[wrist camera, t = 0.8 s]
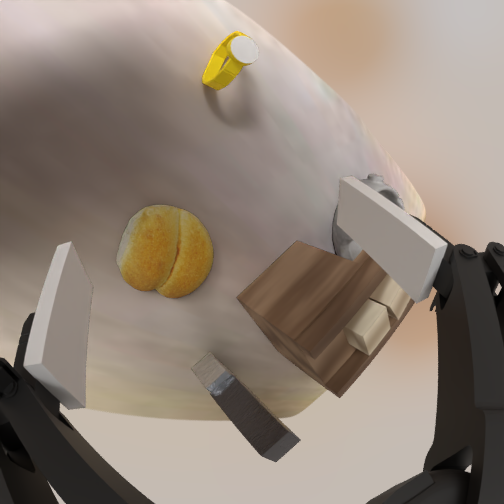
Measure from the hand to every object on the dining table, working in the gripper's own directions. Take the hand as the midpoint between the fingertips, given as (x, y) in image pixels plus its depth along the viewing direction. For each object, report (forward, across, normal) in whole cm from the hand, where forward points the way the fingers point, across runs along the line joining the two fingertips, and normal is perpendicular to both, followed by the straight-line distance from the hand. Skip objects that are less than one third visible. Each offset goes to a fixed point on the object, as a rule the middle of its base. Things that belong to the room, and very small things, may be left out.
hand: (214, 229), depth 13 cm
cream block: (+6, +18, -16) cm, 25 cm away
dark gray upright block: (+9, -2, -25) cm, 26 cm away
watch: (+19, +4, +7) cm, 20 cm away
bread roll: (+13, -4, -8) cm, 16 cm away
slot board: (+14, +12, -20) cm, 27 cm away
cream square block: (+5, +14, -18) cm, 23 cm away
